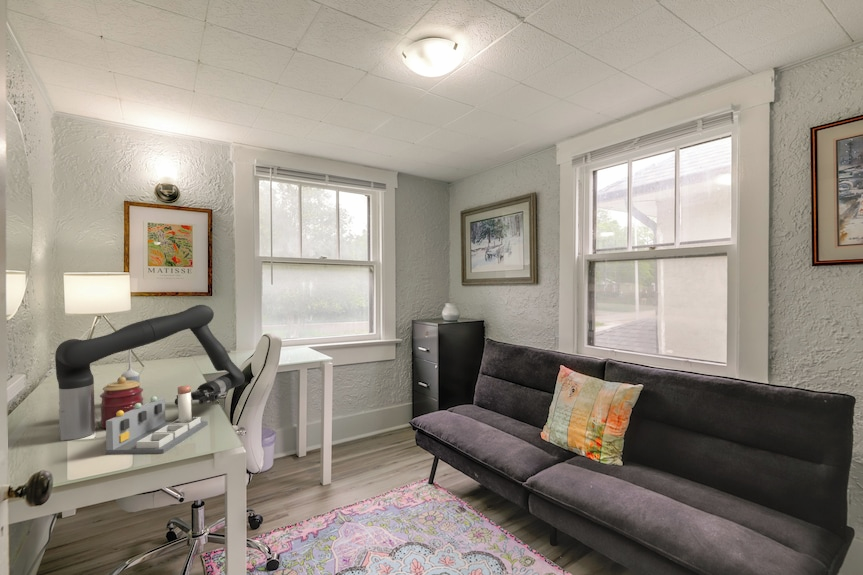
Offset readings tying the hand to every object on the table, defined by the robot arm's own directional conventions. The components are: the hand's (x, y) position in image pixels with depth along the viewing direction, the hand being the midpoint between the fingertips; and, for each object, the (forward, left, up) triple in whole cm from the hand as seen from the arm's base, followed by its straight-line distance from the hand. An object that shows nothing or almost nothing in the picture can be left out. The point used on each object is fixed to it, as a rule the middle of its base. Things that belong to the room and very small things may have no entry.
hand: (187, 402), depth 149 cm
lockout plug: (-1, -2, -8) cm, 8 cm away
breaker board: (-10, -5, -9) cm, 14 cm away
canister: (-16, +23, -9) cm, 29 cm away
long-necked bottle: (-9, +52, -9) cm, 53 cm away
